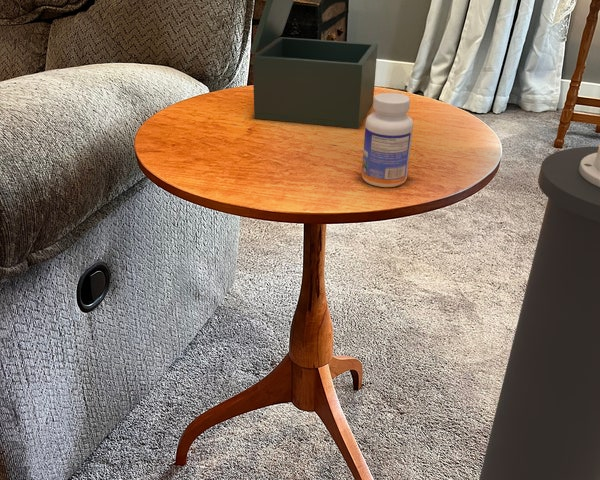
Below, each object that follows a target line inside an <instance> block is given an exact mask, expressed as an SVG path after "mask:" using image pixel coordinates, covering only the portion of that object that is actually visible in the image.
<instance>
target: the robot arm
mask: <svg viewBox="0 0 600 480" xmlns="http://www.w3.org/2000/svg"><path fill="white" fill-rule="evenodd" d="M598 147H599V148H598V152H597V153H593V154H590V155H588V156H586V157H584V158H583V159H582V160H581V163H580V167H579V172H580V174H581V175H582V177H583V178H584V179H585V180H587V181H588V182H590V183H591V184H593V185H595V186H597V187H599V188H600V144H599V145H598Z"/></svg>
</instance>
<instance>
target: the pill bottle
mask: <svg viewBox="0 0 600 480" xmlns="http://www.w3.org/2000/svg"><path fill="white" fill-rule="evenodd" d="M410 105H411V98H410V96H408V95H407V94H402V93H399V92H380V93H377V94H374V99H373V103H372V109H373V111H374V112H372V113H369V115H367V117H366V119H365V126H364V129H365V130H364V138H363V139H364V140H363V151H362V164H361V178H362V179H363V181H364V182H365V183H367V184H369V185H372V186H375V187H380V188H393V187H397V186H401V185H403V184H404V183H405V182H406V181H407V177H408V171H409V162H410V154H411V146H412V138H413V131H414V120H413V119H412V117H411V116H410V115H409V114H407V113H409V110H410V107H411V106H410Z"/></svg>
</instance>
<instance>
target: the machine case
mask: <svg viewBox="0 0 600 480" xmlns="http://www.w3.org/2000/svg"><path fill="white" fill-rule="evenodd" d="M378 46H379V45H378V43H370V42H356V41H340V40H327V39H326V40H325V39H312V38H299V37H298V38H297V37H285V36H279V37H278V38H276V39H275V40H274V41H272V42H271V43H270V44H268V45H267V46H265V47H264V48H263V49H261V50H260V51H258V52H257V53H256V54H254V55H253V56H252V82H253V83H252V85H253V86H252V87H253V118H254V119H256V120H264V121H265V120H266V121H277V122H287V123H298V124H307V125H319V126H327V127H339V128H348V129H359V128H360V126H361V124H362V123H363V121H364V119H365V118H366V115H367V114H368V112H369V110H370V108H371V106H373V103H374V97H375V84H376V73H377V71H376V70H377V58H378Z"/></svg>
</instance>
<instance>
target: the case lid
mask: <svg viewBox="0 0 600 480" xmlns="http://www.w3.org/2000/svg"><path fill="white" fill-rule="evenodd" d="M294 1H295V0H266V2H265V5H264V8H263V11H262V14H261V17H260V20H259V24H258V26H257V28H256V32H255V36H254V39H253V41H252V45H251V48H250V50H249V51H250V53H252V54H254V55H256V54H257V53H258V52H260V51H261V50H263V49H264V48H265V47H267V46H268V45H269V44H271V43H272V42H274V41H275V40H276V39H278V38H279V37H282V35H283V32H284V29H285V26H286V24H287V20H288V19H289V15H290V12H291V10H292V7H293V4H294Z"/></svg>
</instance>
